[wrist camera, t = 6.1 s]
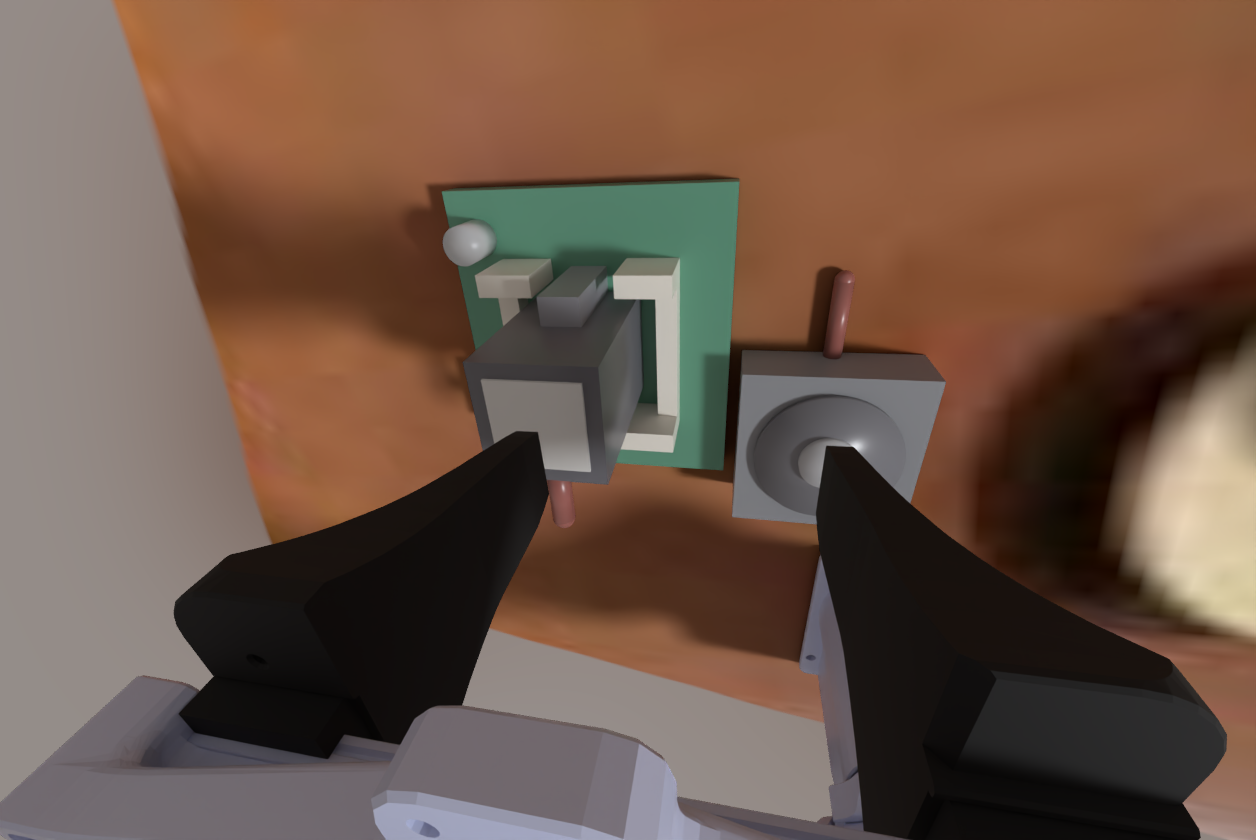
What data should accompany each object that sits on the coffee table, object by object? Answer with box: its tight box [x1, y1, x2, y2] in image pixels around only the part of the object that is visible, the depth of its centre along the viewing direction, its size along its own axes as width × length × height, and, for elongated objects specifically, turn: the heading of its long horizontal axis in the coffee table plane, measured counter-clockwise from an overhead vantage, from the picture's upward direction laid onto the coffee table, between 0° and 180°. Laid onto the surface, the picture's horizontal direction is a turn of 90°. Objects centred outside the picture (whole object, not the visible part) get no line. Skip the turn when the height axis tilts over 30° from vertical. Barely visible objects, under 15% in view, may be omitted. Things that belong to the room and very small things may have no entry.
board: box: [442, 179, 739, 470], centre depth 21 cm, size 12×11×4 cm
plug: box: [463, 266, 644, 528], centre depth 19 cm, size 8×4×7 cm, turn 3°
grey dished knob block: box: [732, 270, 946, 524], centre depth 20 cm, size 10×7×3 cm
